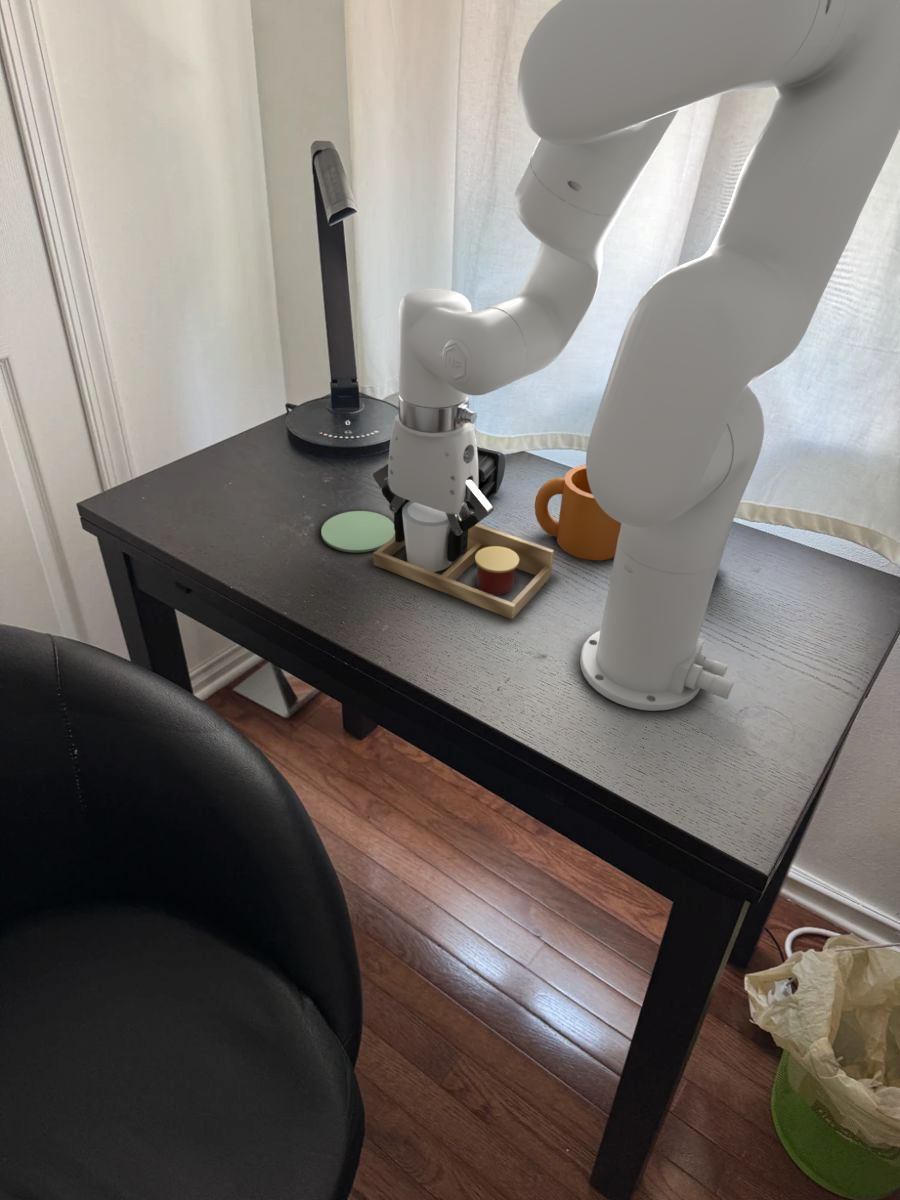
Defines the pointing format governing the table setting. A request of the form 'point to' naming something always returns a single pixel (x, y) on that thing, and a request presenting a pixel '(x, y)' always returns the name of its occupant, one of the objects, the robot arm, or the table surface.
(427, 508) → the shot glass
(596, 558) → the mug
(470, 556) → the pod caddy
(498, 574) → the coffee pod
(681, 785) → the table surface
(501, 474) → the end cap
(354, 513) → the coaster
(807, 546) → the table surface
